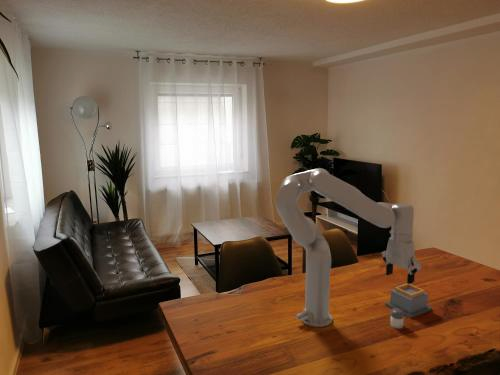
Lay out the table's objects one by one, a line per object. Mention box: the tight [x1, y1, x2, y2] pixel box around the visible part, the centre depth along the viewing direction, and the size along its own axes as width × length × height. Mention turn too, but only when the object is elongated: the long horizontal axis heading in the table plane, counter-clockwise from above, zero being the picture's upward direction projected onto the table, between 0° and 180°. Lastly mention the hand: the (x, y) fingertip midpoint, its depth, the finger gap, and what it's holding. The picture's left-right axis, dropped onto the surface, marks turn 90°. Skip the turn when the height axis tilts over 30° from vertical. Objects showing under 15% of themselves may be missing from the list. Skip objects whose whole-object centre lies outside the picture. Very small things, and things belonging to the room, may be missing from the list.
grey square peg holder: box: [384, 282, 433, 319], centre depth 167 cm, size 14×13×8 cm
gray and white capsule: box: [389, 308, 405, 329], centre depth 154 cm, size 5×5×6 cm
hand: (399, 278), depth 151 cm, fingers open, 9 cm apart
